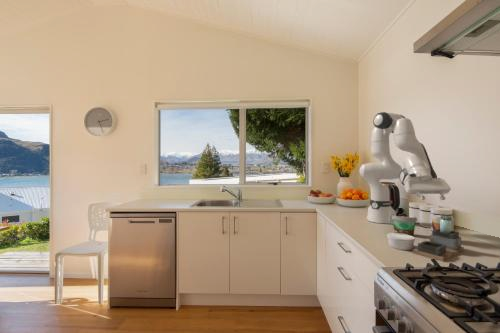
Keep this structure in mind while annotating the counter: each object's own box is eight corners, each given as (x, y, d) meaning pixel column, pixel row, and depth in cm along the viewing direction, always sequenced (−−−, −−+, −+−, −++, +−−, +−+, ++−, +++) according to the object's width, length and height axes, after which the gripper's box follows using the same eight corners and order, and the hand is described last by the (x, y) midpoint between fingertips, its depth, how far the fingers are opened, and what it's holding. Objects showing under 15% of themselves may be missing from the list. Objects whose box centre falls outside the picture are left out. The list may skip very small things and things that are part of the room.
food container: (393, 235, 137) (393, 216, 137) (391, 232, 143) (391, 214, 143) (420, 237, 133) (420, 218, 133) (416, 234, 139) (416, 216, 139)
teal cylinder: (442, 234, 119) (442, 215, 119) (452, 236, 115) (452, 216, 115) (438, 235, 117) (438, 216, 116) (448, 237, 113) (449, 217, 113)
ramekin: (414, 245, 121) (414, 234, 120) (415, 253, 111) (415, 241, 111) (387, 241, 126) (387, 231, 126) (386, 248, 117) (386, 237, 116)
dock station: (435, 243, 123) (435, 227, 123) (463, 250, 114) (464, 232, 114) (412, 253, 110) (413, 234, 110) (442, 261, 101) (443, 241, 101)
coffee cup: (426, 238, 132) (427, 215, 132) (439, 236, 135) (440, 214, 134) (445, 244, 123) (445, 219, 123) (458, 242, 126) (459, 218, 125)
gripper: (440, 182, 137) (452, 202, 127) (400, 182, 139) (409, 203, 130) (445, 174, 133) (458, 195, 123) (404, 175, 135) (414, 195, 125)
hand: (433, 199), depth 126 cm, fingers open, 8 cm apart
